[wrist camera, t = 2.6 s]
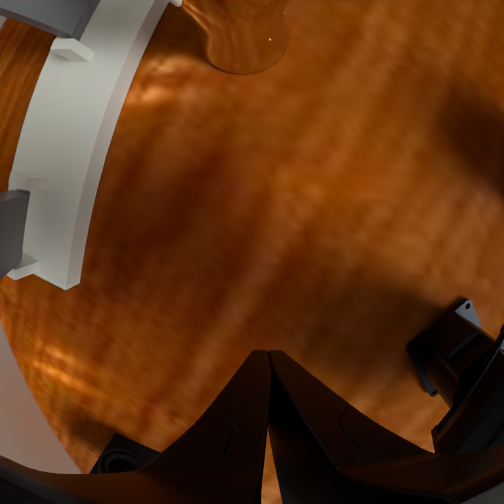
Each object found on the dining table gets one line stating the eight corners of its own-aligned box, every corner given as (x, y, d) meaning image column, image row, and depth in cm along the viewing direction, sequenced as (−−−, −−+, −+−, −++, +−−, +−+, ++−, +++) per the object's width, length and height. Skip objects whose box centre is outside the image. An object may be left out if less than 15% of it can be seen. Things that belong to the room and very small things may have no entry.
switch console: (173, -6, 17) (153, -40, 13) (79, 283, 22) (43, 301, 17) (95, -5, 17) (69, -30, 13) (15, 250, 22) (-22, 261, 17)
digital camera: (217, 465, 25) (205, 520, 18) (203, 490, 26) (190, 540, 19) (116, 424, 25) (85, 471, 18) (112, 453, 26) (86, 497, 19)
